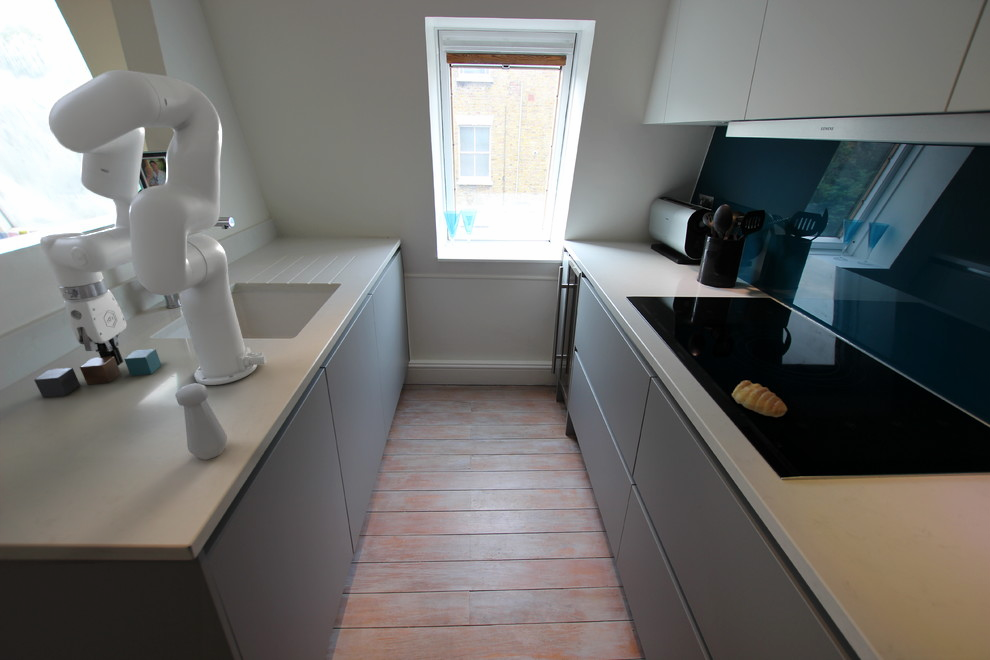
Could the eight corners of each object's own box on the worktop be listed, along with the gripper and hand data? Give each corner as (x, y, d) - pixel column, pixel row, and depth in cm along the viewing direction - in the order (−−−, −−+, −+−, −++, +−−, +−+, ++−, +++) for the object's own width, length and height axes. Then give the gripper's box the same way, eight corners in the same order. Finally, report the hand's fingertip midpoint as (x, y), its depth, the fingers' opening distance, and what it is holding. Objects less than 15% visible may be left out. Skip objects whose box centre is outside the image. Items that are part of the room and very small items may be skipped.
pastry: (792, 412, 87) (797, 396, 85) (772, 423, 84) (778, 407, 82) (746, 390, 94) (750, 375, 92) (726, 400, 91) (730, 384, 89)
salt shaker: (212, 465, 74) (189, 399, 68) (183, 461, 75) (158, 395, 69) (237, 443, 79) (218, 380, 74) (210, 439, 80) (189, 377, 75)
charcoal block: (80, 385, 98) (72, 367, 96) (66, 395, 94) (57, 377, 92) (58, 386, 97) (49, 369, 95) (42, 397, 93) (33, 379, 91)
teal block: (161, 365, 106) (155, 348, 104) (151, 374, 102) (145, 357, 100) (141, 366, 105) (135, 350, 103) (130, 375, 101) (123, 358, 99)
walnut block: (120, 373, 102) (114, 356, 101) (109, 382, 98) (102, 365, 97) (99, 374, 102) (92, 357, 100) (87, 384, 98) (79, 367, 96)
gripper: (80, 301, 90) (111, 379, 97) (124, 278, 103) (149, 349, 111) (38, 303, 89) (73, 382, 96) (88, 280, 102) (116, 351, 110)
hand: (114, 364), depth 104 cm, fingers closed
